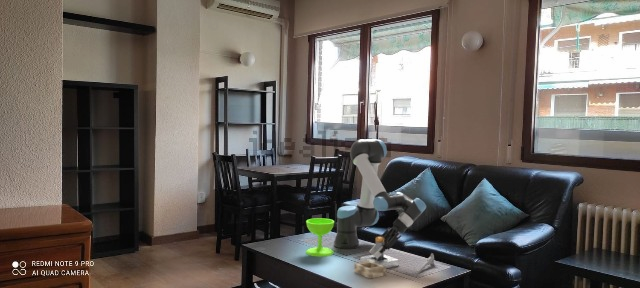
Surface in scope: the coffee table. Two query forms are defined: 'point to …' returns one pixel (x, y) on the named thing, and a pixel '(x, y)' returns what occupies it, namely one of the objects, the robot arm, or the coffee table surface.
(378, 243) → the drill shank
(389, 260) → the socket block
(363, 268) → the tan open tray
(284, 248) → the coffee table surface
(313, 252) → the wineglass
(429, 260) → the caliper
